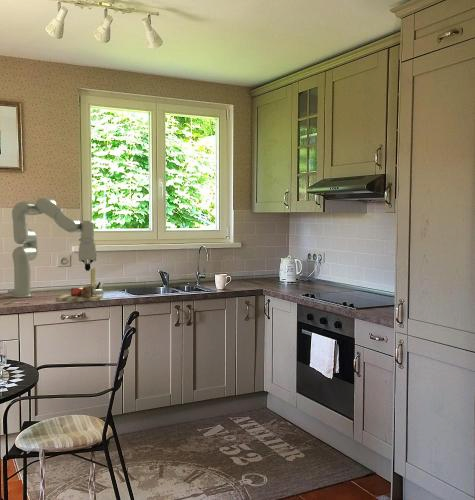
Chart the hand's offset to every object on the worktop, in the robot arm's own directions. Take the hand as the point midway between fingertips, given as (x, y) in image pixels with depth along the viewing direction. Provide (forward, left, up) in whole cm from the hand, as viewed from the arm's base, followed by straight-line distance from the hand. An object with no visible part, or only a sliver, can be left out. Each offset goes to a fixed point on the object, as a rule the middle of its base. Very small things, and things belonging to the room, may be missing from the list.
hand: (87, 270), depth 345 cm
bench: (-5, 0, -18) cm, 18 cm away
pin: (0, 0, -16) cm, 16 cm away
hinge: (+2, +20, -18) cm, 27 cm away
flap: (+3, 0, -9) cm, 10 cm away
